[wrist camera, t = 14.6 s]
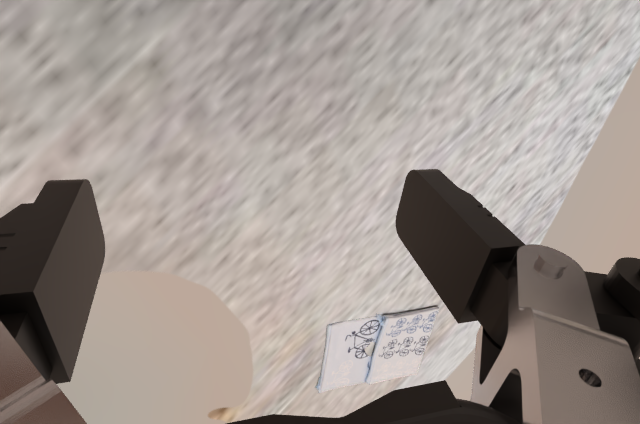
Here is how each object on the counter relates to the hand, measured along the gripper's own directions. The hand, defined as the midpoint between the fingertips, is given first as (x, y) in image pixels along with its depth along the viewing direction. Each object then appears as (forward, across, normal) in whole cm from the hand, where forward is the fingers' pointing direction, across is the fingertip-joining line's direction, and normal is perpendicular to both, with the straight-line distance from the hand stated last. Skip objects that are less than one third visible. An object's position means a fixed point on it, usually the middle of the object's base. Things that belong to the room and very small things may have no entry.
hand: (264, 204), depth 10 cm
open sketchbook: (+31, -25, +51) cm, 65 cm away
